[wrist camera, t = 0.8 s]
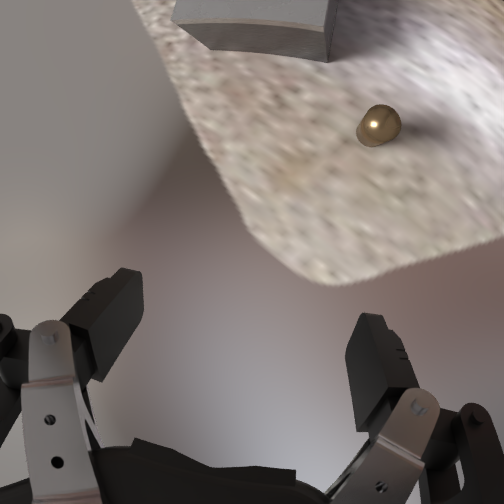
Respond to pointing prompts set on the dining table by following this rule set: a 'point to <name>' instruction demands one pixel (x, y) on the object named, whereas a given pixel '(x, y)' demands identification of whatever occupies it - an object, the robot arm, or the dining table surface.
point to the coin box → (261, 25)
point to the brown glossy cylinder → (378, 126)
